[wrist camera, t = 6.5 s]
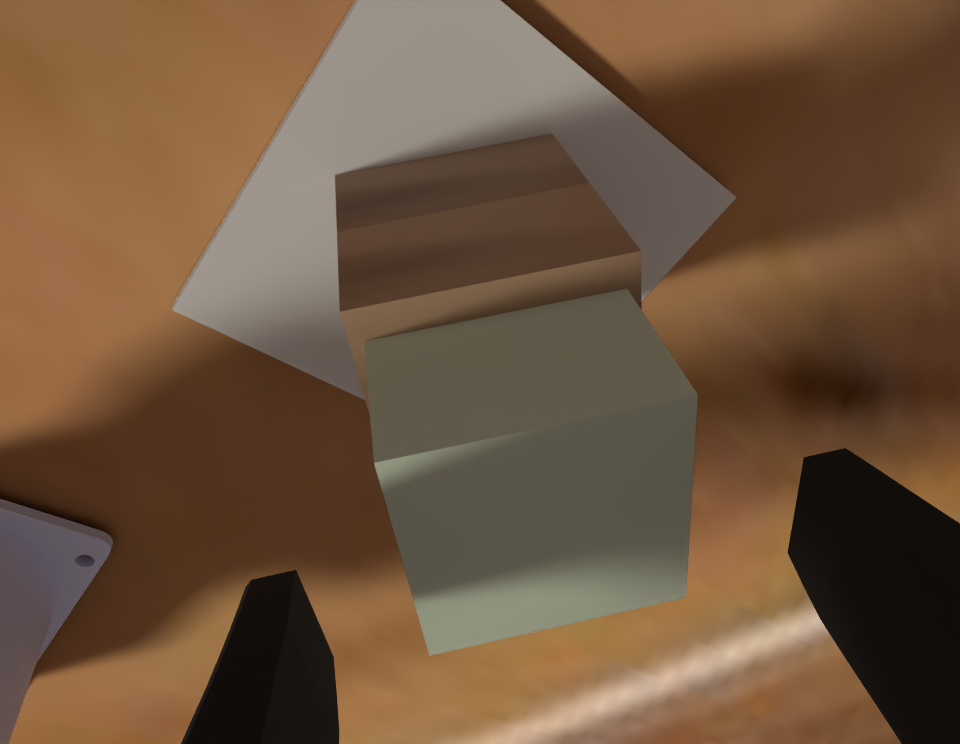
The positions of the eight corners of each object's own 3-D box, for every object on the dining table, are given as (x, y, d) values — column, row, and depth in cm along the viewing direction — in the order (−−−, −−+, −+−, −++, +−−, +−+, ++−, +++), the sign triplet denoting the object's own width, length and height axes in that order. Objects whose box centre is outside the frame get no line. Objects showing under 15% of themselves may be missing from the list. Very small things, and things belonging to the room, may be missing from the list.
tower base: (566, 317, 20) (598, 383, 18) (381, 355, 20) (389, 427, 17) (552, 133, 17) (589, 182, 15) (334, 174, 17) (337, 232, 14)
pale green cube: (629, 477, 15) (685, 597, 13) (412, 524, 15) (429, 655, 13) (627, 288, 13) (698, 395, 10) (363, 341, 12) (373, 462, 10)
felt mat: (491, 450, 23) (494, 461, 23) (175, 299, 19) (172, 309, 18) (728, 189, 19) (736, 197, 19) (403, -81, 15) (406, -79, 14)
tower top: (598, 383, 18) (641, 469, 15) (389, 427, 17) (400, 523, 15) (589, 182, 15) (641, 251, 12) (337, 232, 14) (339, 311, 12)
